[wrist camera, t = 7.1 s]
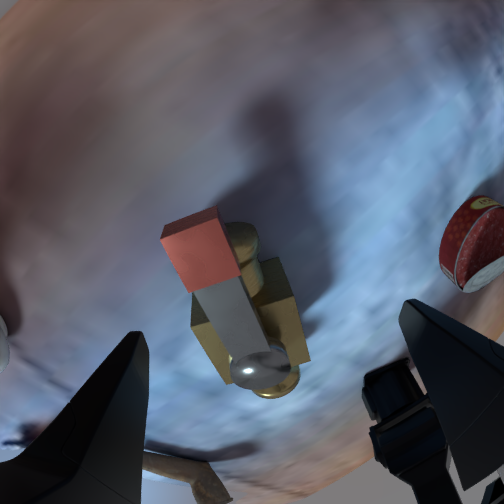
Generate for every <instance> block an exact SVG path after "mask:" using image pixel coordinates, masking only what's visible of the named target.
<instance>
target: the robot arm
mask: <svg viewBox="0 0 504 504" xmlns="http://www.w3.org/2000/svg"><path fill="white" fill-rule="evenodd" d="M399 325H400V327H401V330H402V333H403V335H404V338H405V341H406V343H407V346H408V349H409V352H410V355H411V357H412V359H413V362H414V364H415V366H416V368H417V370H418V373H419V375H420V377H421V379H422V381H423V384H424V386H425V388H426V390H427V393H426V395H424V394H423V392H422V390H421V388H420V387H419V385H418V383H417V381H416V380H415V378H414V376H413V374H412V373H411V371H410V369H409V363H410V360H409V358H405V359H403V360H401V361H398V362H396V363H394V364H392V365H389V366H387V367H385V368H382V369H380V370H378V371H375V372H373V373H370V374H368V375H366V376H365V377H364V387H363V388H362V399H363V402H364V404H365V406H366V409H367V411H368V413H369V416H370V418H371V420H373V421H374V420H376V421H377V423H378V424H376V425H375V426H371V427H370V428H369V429H370V432H369V435H370V438H371V440H372V443H373V449H374V456H375V459H376V461H377V462H380V463H381V464H382V465H383V466H384V467H385V468H388V469H389V471H390V473H391V474H393V475H394V476H396V477H397V478H399V479H400V480H402V481H404V482H405V483H407V484H409V485H410V486H412V489H413V491H414V494H415V497H416V500H417V503H418V504H463V503H462V501H461V499H460V496H459V494H458V491H457V489H456V487H455V485H454V482H453V480H452V478H451V476H450V473H449V468H450V462H451V456H452V457H453V460H454V463H455V466H456V469H457V472H458V475H459V478H460V481H461V485H462V488H463V490H464V491H466V490H467V489H469V488H470V487H472V486H474V485H475V484H477V483H478V482H480V481H481V480H483V479H484V478H486V477H487V476H489V475H490V474H492V473H493V472H494V471H496V470H497V471H498V474H499V477H498V478H497V479H496V480H494V481H493V482H492V483H490V484H489V485H488V486H487V487H486V490H485V493H484V496H483V500H482V503H481V504H504V346H502V345H500V344H498V343H496V342H494V341H493V340H491V339H488V338H487V337H485V336H484V335H482V334H480V333H478V332H476V331H475V330H473V329H471V328H469V327H467V326H466V325H464V324H462V323H460V322H458V321H456V320H454V319H453V318H451V317H449V316H447V315H445V314H443V313H441V312H440V311H438V310H436V309H434V308H432V307H430V306H428V305H426V304H425V303H423V302H421V301H419V300H417V299H409V300H406V301H405V302H404V303H403V306H402V309H401V312H400V315H399ZM148 399H149V349H148V346H147V343H146V340H145V338H144V335H143V333H142V332H141V331H130V332H129V333H128V334H127V335H126V336H125V337H124V338H123V339H122V340H121V342H120V343H119V344H118V345H117V346H116V347H115V348H114V350H113V351H112V352H111V353H110V354H109V355H108V356H107V358H106V359H105V360H104V361H103V362H102V363H101V365H100V366H99V367H98V368H97V369H96V370H95V372H94V373H93V374H92V375H91V376H90V377H89V379H88V380H87V381H86V382H85V383H84V385H83V386H82V387H81V388H80V389H79V391H78V392H77V393H76V394H75V395H74V397H73V398H72V399H71V400H70V403H68V404H67V405H66V406H65V407H64V409H63V410H62V411H61V412H60V413H59V414H58V416H57V417H56V418H55V419H54V420H53V421H52V422H51V423H50V424H49V425H48V427H47V428H46V429H45V430H44V431H43V432H42V433H41V434H40V435H39V436H38V437H37V438H36V439H35V440H34V441H33V442H32V443H31V444H30V445H29V446H28V447H27V448H26V449H25V450H24V451H23V452H22V453H21V454H20V455H18V456H17V457H15V458H13V459H11V460H8V461H5V462H1V463H0V504H141V483H142V466H143V451H144V439H145V428H146V418H147V409H148Z"/></svg>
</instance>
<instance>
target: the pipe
mask: <svg viewBox="0 0 504 504" xmlns="http://www.w3.org/2000/svg"><path fill="white" fill-rule="evenodd" d="M142 469H144V470H146V471H149V472H152V473H155V474H158V475H161V476H164V477H168V478H171V479H175V480H179V481H183V482H187V483H190V485H191V488H192V493H193V495H194V497H195V500H196V502H197V504H227V503H229V502H231V501H233V498H230V495H229V493H228V492H227V490H226V488H225V487H224V485H223V483H222V482H221V480H220V479H219V478H218V476H217V475H216V473H215V472H214V471H213V469H212V468H211V466H210V464H209V463H208V462H200V461H193V460H188V459H185V458H178V457H173V456H167V455H162V454H157V453H151V452H146V451H143V466H142Z"/></svg>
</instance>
